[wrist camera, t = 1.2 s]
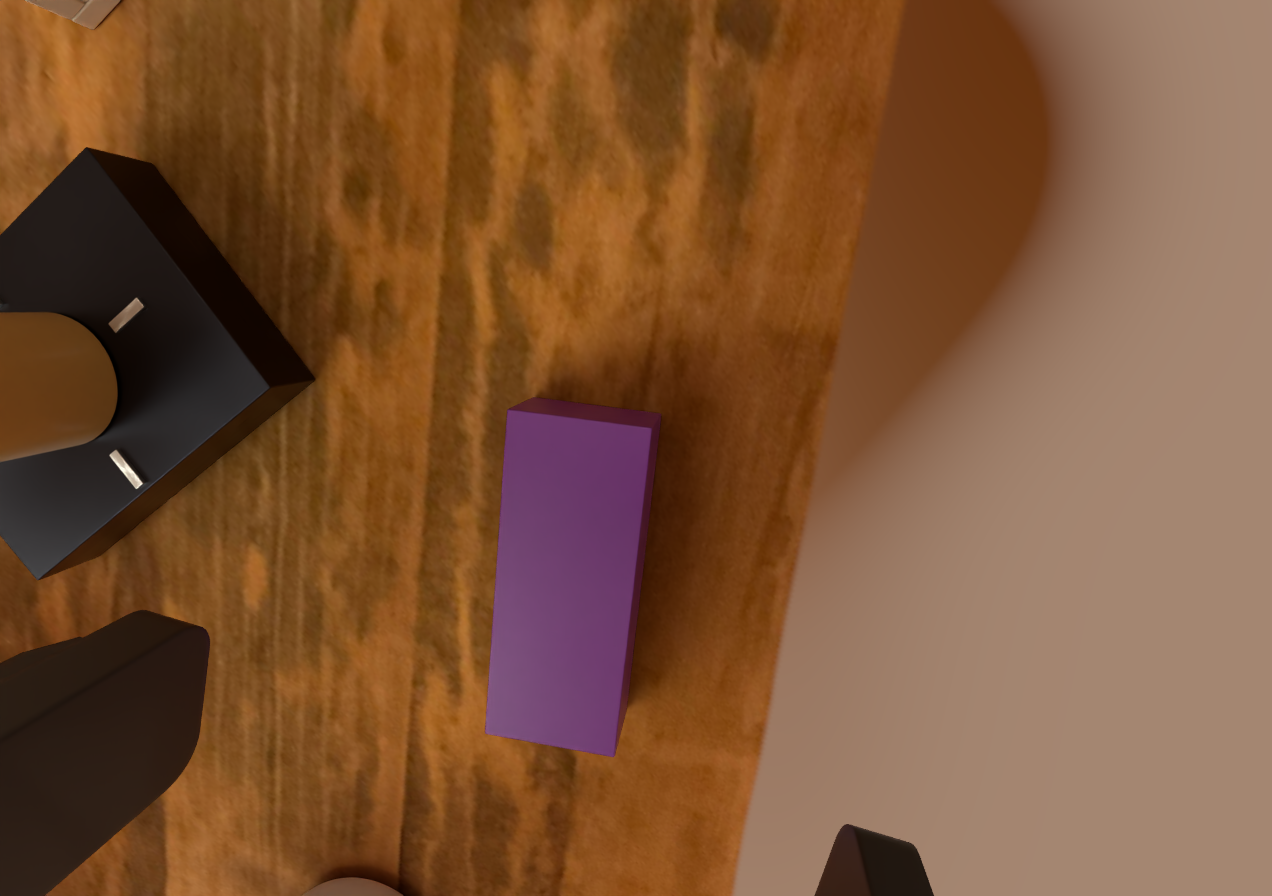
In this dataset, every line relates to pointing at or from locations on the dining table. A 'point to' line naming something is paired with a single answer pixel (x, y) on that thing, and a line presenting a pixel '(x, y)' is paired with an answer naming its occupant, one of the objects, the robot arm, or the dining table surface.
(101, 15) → the white open box
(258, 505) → the dining table surface
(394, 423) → the dining table surface
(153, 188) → the plate
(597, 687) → the purple rectangular block
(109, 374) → the tap knob
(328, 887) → the cup
